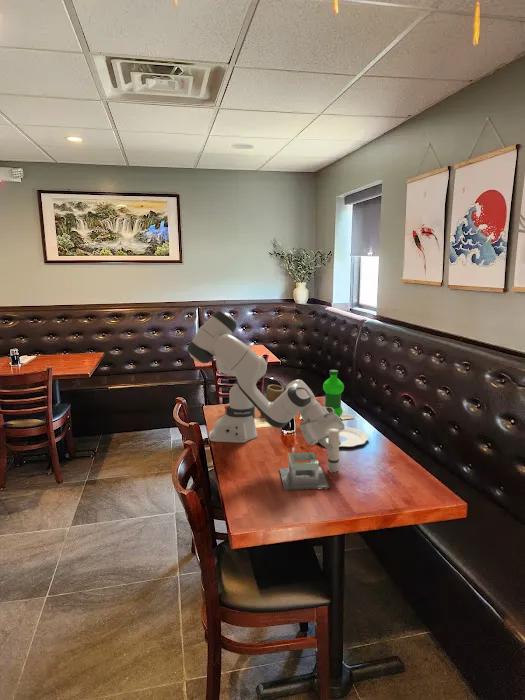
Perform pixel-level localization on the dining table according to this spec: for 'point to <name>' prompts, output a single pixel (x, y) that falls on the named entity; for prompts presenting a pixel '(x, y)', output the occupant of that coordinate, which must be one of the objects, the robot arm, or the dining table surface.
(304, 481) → the collar holder
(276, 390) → the stone cup
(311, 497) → the dining table surface
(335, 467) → the cream tall rounded cylinder
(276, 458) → the dining table surface
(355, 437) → the plate
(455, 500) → the dining table surface
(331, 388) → the plastic bottle
